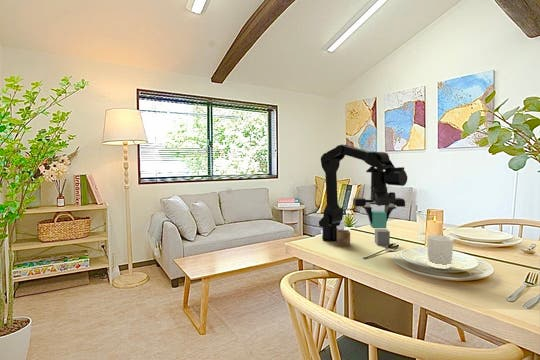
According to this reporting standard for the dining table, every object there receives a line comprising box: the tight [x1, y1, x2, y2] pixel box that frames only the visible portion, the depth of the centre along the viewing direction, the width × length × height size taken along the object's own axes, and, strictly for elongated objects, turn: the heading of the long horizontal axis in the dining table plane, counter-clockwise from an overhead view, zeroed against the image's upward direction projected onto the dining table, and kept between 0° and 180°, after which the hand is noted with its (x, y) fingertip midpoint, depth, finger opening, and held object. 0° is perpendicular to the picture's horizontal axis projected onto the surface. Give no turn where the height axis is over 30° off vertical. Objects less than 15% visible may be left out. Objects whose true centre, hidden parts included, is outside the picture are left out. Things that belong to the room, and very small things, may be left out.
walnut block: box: [336, 229, 351, 248], centre depth 134 cm, size 5×5×6 cm
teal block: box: [369, 210, 388, 229], centre depth 123 cm, size 5×5×6 cm
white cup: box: [426, 234, 455, 265], centre depth 107 cm, size 8×8×10 cm
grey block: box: [374, 228, 391, 247], centre depth 136 cm, size 5×5×6 cm
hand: (378, 223), depth 123 cm, fingers closed on teal block, 5 cm apart
